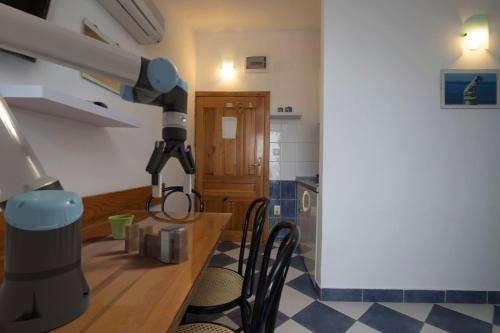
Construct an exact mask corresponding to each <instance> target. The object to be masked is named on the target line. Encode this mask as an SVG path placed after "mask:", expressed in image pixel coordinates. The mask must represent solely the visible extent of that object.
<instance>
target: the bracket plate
mask: <svg viewBox="0 0 500 333" xmlns="http://www.w3.org/2000/svg"><path fill="white" fill-rule="evenodd" d="M160 230H161V260H160V262H162V263H166V264H167V263H168V264H170V263H173V262H172V261H174V241H175V233H176V232H179V231H182V230H185V224H180V223H175V224H172V225H168V226H164V227H161V228H160Z"/></svg>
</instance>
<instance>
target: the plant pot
mask: <svg viewBox="0 0 500 333" xmlns="http://www.w3.org/2000/svg"><path fill="white" fill-rule="evenodd" d="M134 218H135V216H134V214H120V215H119V214H118V215H117V214H116V215H113V216H109V217H108V220H109V223H110V226H111V227H110V228H111V234H112V239H114V240H125V226H126V225H130V224H133V223H132V222H133V219H134Z"/></svg>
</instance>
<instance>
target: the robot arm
mask: <svg viewBox="0 0 500 333" xmlns="http://www.w3.org/2000/svg"><path fill="white" fill-rule="evenodd" d="M0 49H3V50H7V51H10V52H14V53H18V54H20V55H21V54H22V55H23V56H27V57H31V58H33V59H37V60H41V61H44V62H47V63H51V64H54V65H57V66H62V67H65V68H68V69H72V70H75V71H78V72H82V73H84V74H88V75H90V76H92V75H93V76H96V77H98V78H102V79H105V80H108V81H112V82H115V83H119V96H120V98H121V99H122V100H123V101H126V102H130V103H133V104H141V105H147V106H151V107H152V106H154V107H158V108H162V117H161V118H162V119H161V121H162V122H161V126H162V128H161V139H162V140H156V141H155V142H154V149H153V151H152V153H151V155H150V158H149V160H148V163H147V165H146V167H145V172H146V173H148V174H149V175H151V181H150V183H151V186H152V196H151V197H153V198H162V185H163V184H162V183H163V182H162V180H163V177H162V176H163V174H160V173H161V172H162V170H163V169H164V167H165V166H166V165H167V163H168V162H169V159H170V158H176V160H178V162H179V164H180V165H181V167H182V169H183V171H184V174H183V189H182V190H183V191H182V192H183V194H187V195H191V194H192V182H193V175H195V174H196V173H197V167H196V163H195V160H194V156H193V153H192V146H191V144H185V141H187V139H188V138H187V136H188V130H187V127H188V101H189V100H188V97H189V90H188V82H187V81H186V80H185V79H184V78H182V77H179V76H180V75H179V71H178V68H177V66H176V65H175V63H174V62H172V61H171V60H170V59H168V58H165V57H156V58H153V59H149V58H147V57H144V56H140V55H139V54H136V53H133V52H130V51H127V50H125V49H122V48H120V47H117V46H115V45H112V44H109V43H106V42H104V41H101V40H99V39H96V38H93V37H91V36H89V35H86V34H83V33H80V32H77V31H75V30H73V29H70V28H67V27H65V26H63V25H60V24H57V23H55V22H52V21H50V20H47V19H44V18H41V17H39V16H36V15H34V14H31V13H28V12H25V11H23V10H20V9H18V8H14V7H12V6H10V5H8V4H7V5H6V4H4V3H1V2H0ZM1 92H2V91H0V210H1V212H2V213H3V219H4V220H5V224H4V225H5V226H4V227H5V228H4V231H5V232H4V259H3V260H4V261H3V262H4V263H3V266H4V268H3V269H4V270H3V271H4V272H3V283H2V285H1V287H0V333H46V332H49V331H51V330H55V329H56V328H59V327H61V326H64V325H66V324H69V323H70V322H72V321H74V320H76V319H77V318H79V317H80V316H82V315H83V314H84V313H85V312H86V311H87V310H88V309H89V307H90V305H91V293H92V292H91V289H90V286H89V283H88V281H87V279H86V276H85V273H84V271H83V267H82V251H83V250H82V245H83V243H82V242H83V241H82V238H83V212H84V204H83V198H82V196H81V195H80V194H79V193H77V192H74V191H71V190H70V191H68V190H65V189H64V187H63V185H62V184H61V182H60V180H59V178H56V177H54V176H50V175H48V174H47V173H46V172H47V171H46V170H45V168H44V167H43V165H42V163H41V162H40V160H39V158H38V157H37V154H36V153H35V151H34V149H33V148H32V146H31V143H30V142H29V140H28V138H27V137H26V135H25V133H24V132H23V130H22V128H21V126H20V125H19V122H18V120H17V119H16V117H15V116H14V114H13V111H12V110H11V108H10V106H9V104H8V103H7V101H6V98H4V96H3V94H2V93H1Z"/></svg>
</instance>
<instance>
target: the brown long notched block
mask: <svg viewBox="0 0 500 333" xmlns="http://www.w3.org/2000/svg"><path fill="white" fill-rule="evenodd" d="M157 232H158V233H156V232H154V226H153V225H149V224H148V225H144V226H141V227H140V224H139V223H131V224H130V225H126V226H125V238H124V253H126V254H130V253H134V252H136V251H138V256H141V257H145V256H147V257H152V258H157V260H160V261H161V229H159V230H158V231H157ZM188 260H189V230H185V229H184V230H182V231H179V232H176V233H175V241H174V261H172V262H171V263H174V264H179V265H180V264H183V263H184V262H186V261H188Z"/></svg>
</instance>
